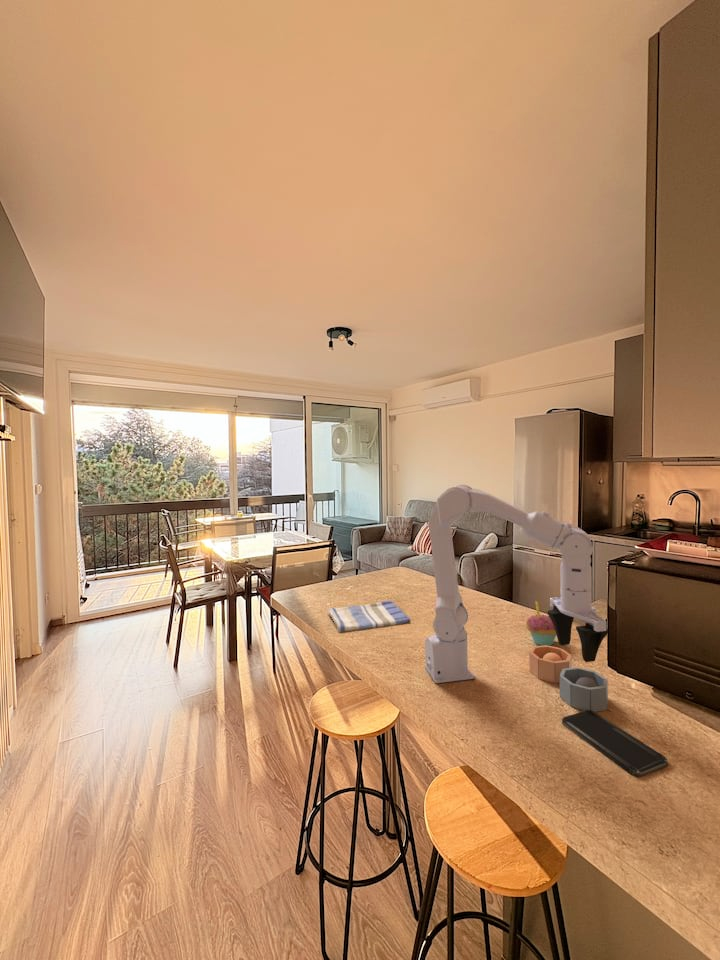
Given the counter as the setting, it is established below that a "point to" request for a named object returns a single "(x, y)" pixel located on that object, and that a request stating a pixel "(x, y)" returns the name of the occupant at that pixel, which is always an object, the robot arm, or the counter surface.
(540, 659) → the terracotta octagonal bowl
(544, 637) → the cupcake
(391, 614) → the dish towel
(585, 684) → the charcoal ball
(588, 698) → the slate cup
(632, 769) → the phone
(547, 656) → the terracotta ball
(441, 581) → the robot arm
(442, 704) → the counter surface
